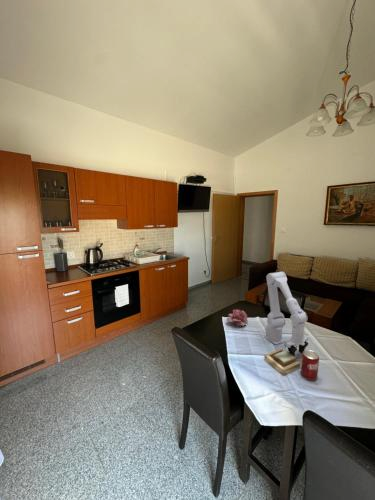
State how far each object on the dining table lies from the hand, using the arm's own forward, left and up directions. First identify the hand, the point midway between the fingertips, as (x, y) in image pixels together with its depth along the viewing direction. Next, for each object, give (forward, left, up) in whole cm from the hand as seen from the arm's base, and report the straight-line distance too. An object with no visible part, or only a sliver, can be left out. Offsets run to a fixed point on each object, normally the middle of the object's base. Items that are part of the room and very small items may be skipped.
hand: (296, 354), depth 119 cm
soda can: (+12, -6, -2) cm, 13 cm away
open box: (0, -9, -1) cm, 9 cm away
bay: (0, -10, -1) cm, 10 cm away
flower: (-44, -7, -2) cm, 45 cm away
